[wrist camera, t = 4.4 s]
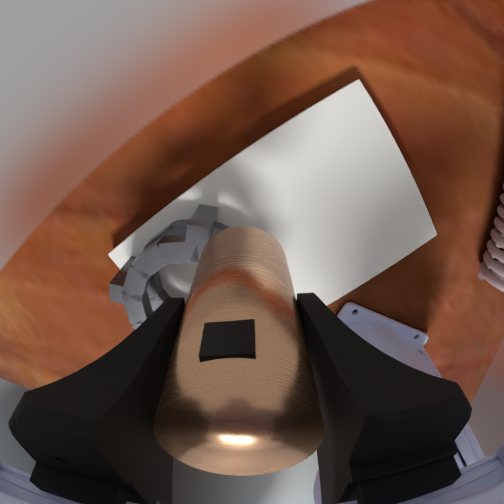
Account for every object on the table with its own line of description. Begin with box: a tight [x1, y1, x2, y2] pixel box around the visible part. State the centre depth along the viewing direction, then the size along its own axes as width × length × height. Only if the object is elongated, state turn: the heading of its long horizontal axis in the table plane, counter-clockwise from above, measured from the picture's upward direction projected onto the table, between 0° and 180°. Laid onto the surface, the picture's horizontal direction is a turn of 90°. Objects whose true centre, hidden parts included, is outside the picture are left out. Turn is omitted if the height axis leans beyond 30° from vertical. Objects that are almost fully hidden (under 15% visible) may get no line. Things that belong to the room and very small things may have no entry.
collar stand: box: [109, 204, 230, 330], centre depth 20 cm, size 8×8×4 cm
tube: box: [153, 226, 325, 476], centre depth 11 cm, size 4×4×9 cm
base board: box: [108, 79, 437, 306], centre depth 21 cm, size 20×12×1 cm, turn 125°
